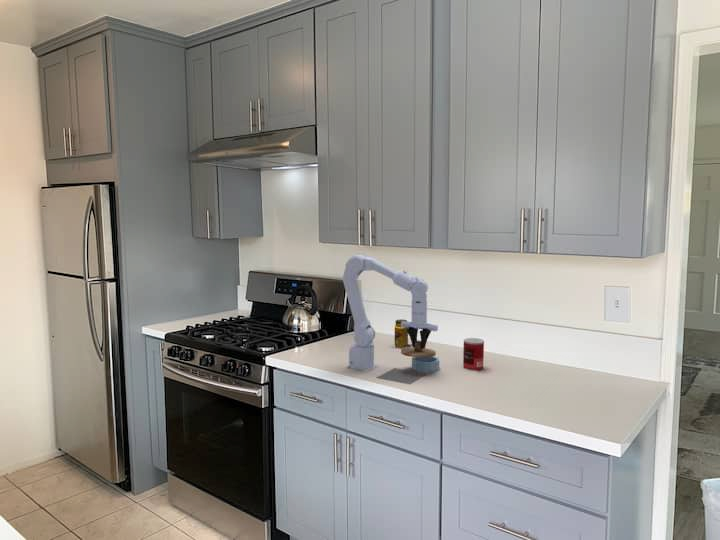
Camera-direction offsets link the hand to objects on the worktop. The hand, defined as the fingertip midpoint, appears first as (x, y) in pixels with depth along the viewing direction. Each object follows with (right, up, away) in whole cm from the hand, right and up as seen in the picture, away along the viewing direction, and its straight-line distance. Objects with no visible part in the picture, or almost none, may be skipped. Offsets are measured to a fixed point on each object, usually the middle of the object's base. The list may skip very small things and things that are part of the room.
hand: (418, 347), depth 207 cm
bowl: (+3, -9, +4) cm, 10 cm away
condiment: (-3, -5, +40) cm, 40 cm away
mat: (-7, -10, -6) cm, 13 cm away
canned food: (+22, -9, +6) cm, 24 cm away
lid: (0, -2, 0) cm, 2 cm away
